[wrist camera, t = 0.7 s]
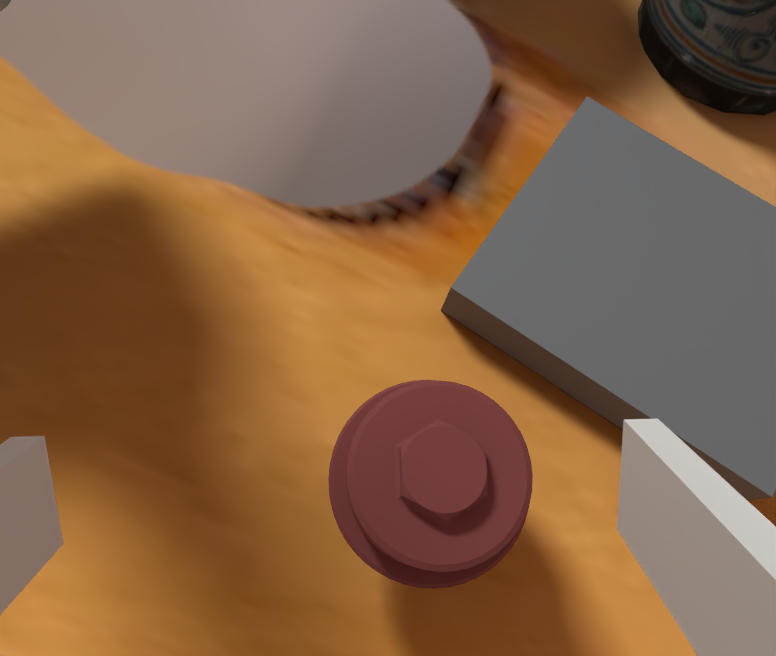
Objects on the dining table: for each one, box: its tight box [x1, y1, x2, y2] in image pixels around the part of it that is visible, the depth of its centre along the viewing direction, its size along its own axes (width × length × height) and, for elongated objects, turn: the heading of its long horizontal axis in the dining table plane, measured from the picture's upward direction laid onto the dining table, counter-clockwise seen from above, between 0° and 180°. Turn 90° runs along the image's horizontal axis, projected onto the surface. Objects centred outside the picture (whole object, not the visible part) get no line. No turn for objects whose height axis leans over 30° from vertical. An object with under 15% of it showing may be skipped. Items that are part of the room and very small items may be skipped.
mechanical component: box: [329, 380, 532, 588], centre depth 33 cm, size 12×10×10 cm
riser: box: [441, 97, 776, 500], centre depth 42 cm, size 22×18×4 cm
